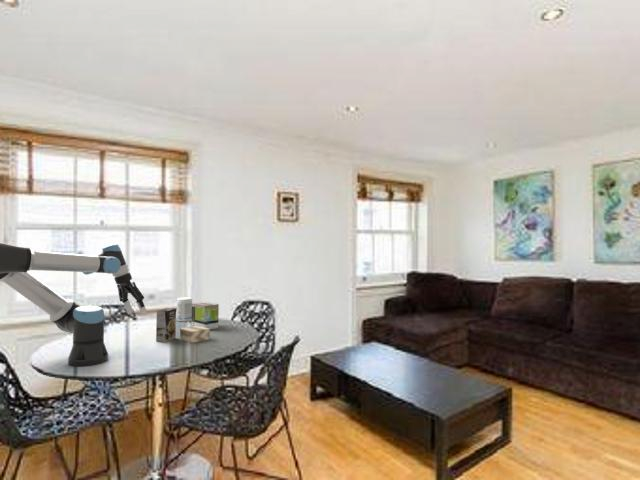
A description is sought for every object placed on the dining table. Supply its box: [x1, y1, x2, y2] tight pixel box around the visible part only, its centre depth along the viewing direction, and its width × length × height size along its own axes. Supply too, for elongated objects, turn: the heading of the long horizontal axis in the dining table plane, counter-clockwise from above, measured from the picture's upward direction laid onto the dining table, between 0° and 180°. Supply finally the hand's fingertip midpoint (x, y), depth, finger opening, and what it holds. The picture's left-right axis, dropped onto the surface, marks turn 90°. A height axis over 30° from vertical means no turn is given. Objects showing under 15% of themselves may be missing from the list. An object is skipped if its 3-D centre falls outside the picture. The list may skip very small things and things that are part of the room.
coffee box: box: [155, 308, 177, 343], centre depth 215 cm, size 9×6×16 cm
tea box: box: [191, 301, 220, 330], centre depth 245 cm, size 15×10×15 cm
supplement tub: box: [176, 297, 193, 323], centre depth 266 cm, size 10×10×15 cm
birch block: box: [179, 325, 211, 344], centre depth 216 cm, size 11×11×6 cm
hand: (137, 313), depth 203 cm, fingers open, 13 cm apart
